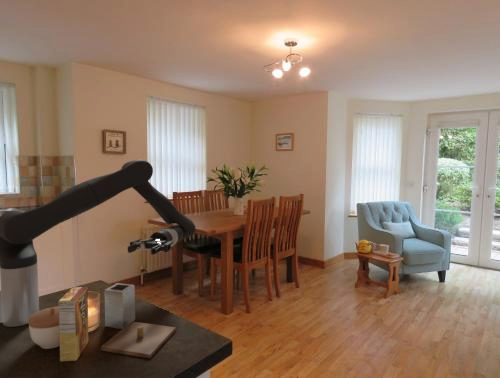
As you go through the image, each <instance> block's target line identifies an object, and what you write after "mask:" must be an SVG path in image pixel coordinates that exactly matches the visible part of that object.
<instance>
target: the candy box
mask: <svg viewBox="0 0 500 378" xmlns="http://www.w3.org/2000/svg"><path fill="white" fill-rule="evenodd" d="M88 293H89V291H88V286H79V287H78V286H77V287H74V286H73V287H71V288H70V289H69V290H68V291H67V292H66V293H65V294H64V295H63V296H62V297H61V298H60V299H59V300H58V306H59V332H60V346H59V361H60V362H61V363H62V362H72V361H73V362H74V361H78V359H79V357H80V356H81V354H82V353H83V351H84V349H85V348H86V346H88V345H87V344H88V343H89V297H88V296H89V294H88Z"/></svg>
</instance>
